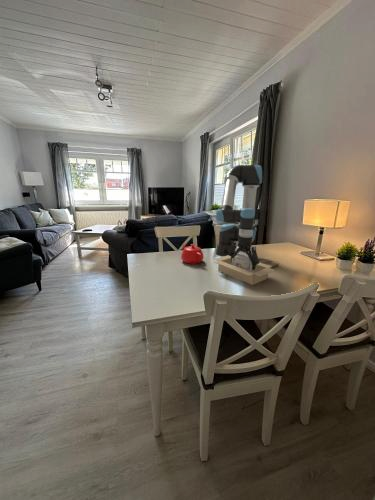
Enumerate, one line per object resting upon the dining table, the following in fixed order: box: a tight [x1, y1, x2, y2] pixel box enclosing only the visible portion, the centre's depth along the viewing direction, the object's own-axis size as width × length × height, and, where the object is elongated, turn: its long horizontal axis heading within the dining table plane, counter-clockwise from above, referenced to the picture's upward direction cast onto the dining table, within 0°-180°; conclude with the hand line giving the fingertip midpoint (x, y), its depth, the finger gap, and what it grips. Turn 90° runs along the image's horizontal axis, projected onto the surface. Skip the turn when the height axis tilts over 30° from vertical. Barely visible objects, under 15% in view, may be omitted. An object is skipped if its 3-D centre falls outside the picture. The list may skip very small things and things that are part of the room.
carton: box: [213, 255, 275, 286], centre depth 126 cm, size 33×22×7 cm, turn 39°
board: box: [258, 258, 279, 269], centre depth 144 cm, size 14×14×1 cm
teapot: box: [180, 243, 204, 265], centre depth 146 cm, size 25×16×12 cm, turn 31°
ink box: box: [235, 253, 251, 272], centre depth 125 cm, size 9×5×12 cm, turn 62°
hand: (241, 271), depth 126 cm, fingers open, 13 cm apart
